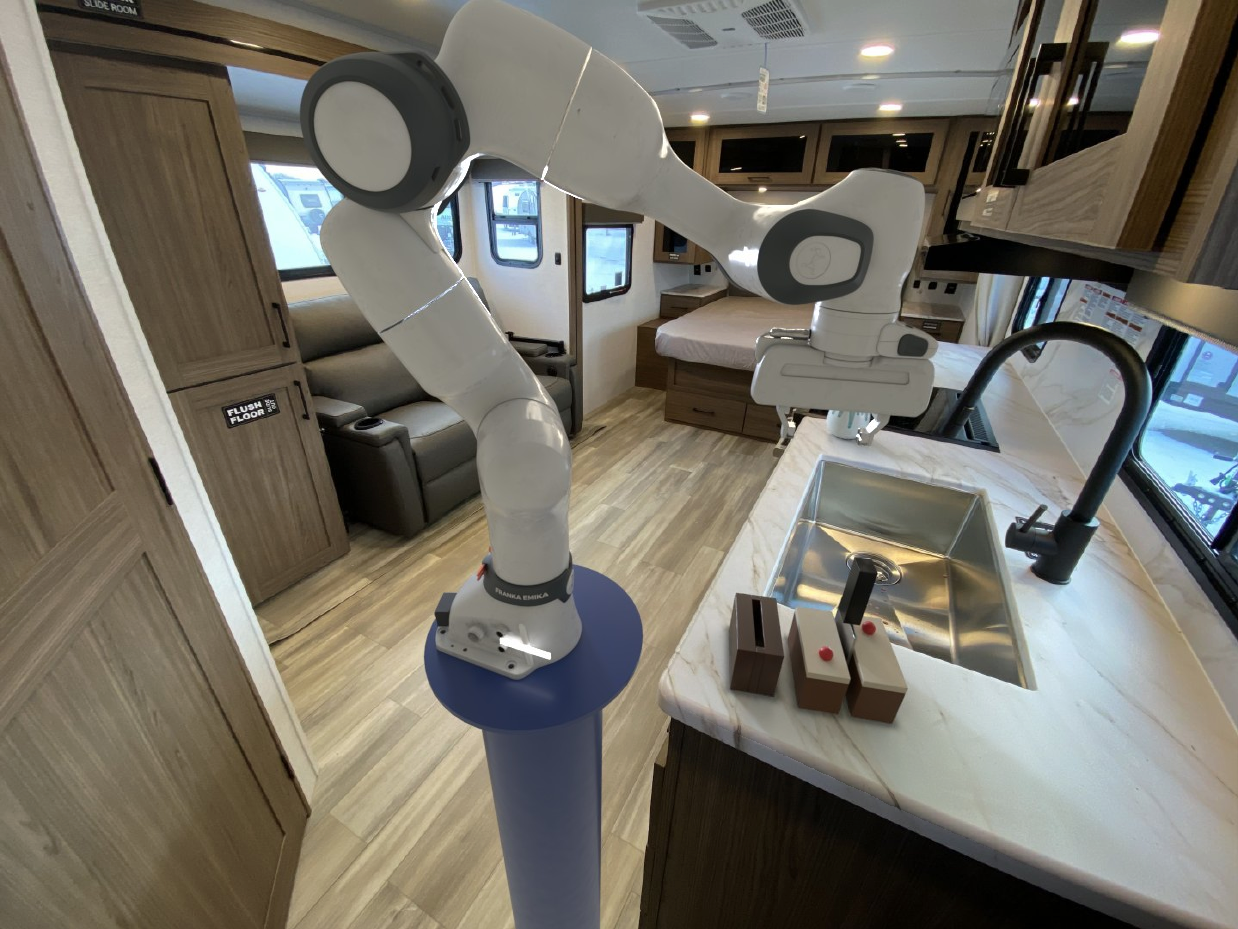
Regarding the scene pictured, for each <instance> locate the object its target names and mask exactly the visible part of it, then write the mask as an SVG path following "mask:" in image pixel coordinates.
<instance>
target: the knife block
mask: <svg viewBox="0 0 1238 929" xmlns="http://www.w3.org/2000/svg"><path fill="white" fill-rule="evenodd" d="M778 608H779V607H778V602H777V597H770V596H765V595H764V596H763V595H755V594H748V593H742V592H735V595H734V598H733V604H732V611H731V617H730V622H729V626H728V658H729V660H728V661H729V662H728V663H729V664H728V665H729V667H728V668H729V669H728V670H729V690H731V691H735V692H736V691H737V692H743V693H748V694H753V695H759V696H766V697H772V698H775V694H776V690H777V686H778V683H779V679H780V675H781V671H782V668H783V663H784V660H785V651H784V644H783V637H782V629H781V623H780V616H779V609H778Z"/></svg>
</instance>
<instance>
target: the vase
mask: <svg viewBox="0 0 1238 929" xmlns="http://www.w3.org/2000/svg"><path fill="white" fill-rule="evenodd" d="M871 415H872V414H871V413H859V412H847V411H835V410H828V412H827V415H826V420H825V423H826V424H825V425H826V427H827V430H828V431H829V433H830V434H831V435H833V436H835V437H837V438H839V439H843V440H844V439H845V440H856V436H857V435H858V429H859V428H866V427H867V426H868V425H869V424H870V423H871Z"/></svg>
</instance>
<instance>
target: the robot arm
mask: <svg viewBox="0 0 1238 929" xmlns="http://www.w3.org/2000/svg"><path fill="white" fill-rule="evenodd" d="M299 122H300V124H299V125H300V129H301V134H302V138H303V142H304V145H305V147H306V149H307V151H308V154H309V156H310V158H311V160H312V162H313V164H314V165H315V166H316V168H317V169H318V171H319V172H320V174H321V175H322V176H323V177H324V179H325V180H326V181H327V182H328V183H329V184H330V185H331V186H332V187H333V188H334V189H335V190H336V191H337V192H338V193H340V194H341V195H342V196H344V198H342V199H341V200H339V201H338V202H337V203H336V204H334V206H333V207H331V209H330V210H329V211H328V212H327V214H326V216H325V217H324V219H323V221H322V223H321V226H320V230H319V244H320V247H321V250H322V252H323V255H324V256H325V258H326V259H327V261H328V263H329V265H330V266H331V269H332V270H333V272H334V274H335V275H336V277H337V278H338V280H339V282H340V283H341V285H342V286H343V288H344V290H345V292H346V293H347V294H348V296H349V297H350V299H351V300H352V301H353V304H354V305H355V306H356V307H357V308H358V310H359V311H360V313H361V314H362V315H363V317H364V318H365V319H366V321H367V322H368V324H370V326H371V328H373V329H374V331H375V332H376V333H377V335H378V336H379V338H381V339H382V341H383V342H384V343H385V344H386V346H387V347H388V348H389V349H390V351H391V352H392V353H393V354H394V355H395V357H396V358H397V359H398V360H399V361H400V362H401V364H402V365H403V366H404V367H405V369H406V370H407V371H408V373H410V375H411V376H412V378H414V380H415V381H416V382H417V383H418V385H420V387H421V388H422V390H423V391H425V392H426V393H427V394H428V395H430V396H432V397H435V398H437V399H439V400H440V401H442V403H444V404H445V405H446V406H448V407H449V408H450V409H451V410H453V412H454V413H456V414H457V415H458V416H460V417H461V419H463V421H464V422H465V423H466V424H467V425H468V426H469V427H470V429H471V431H472V432H473V435H474V437H475V439H476V443H477V444H476V470H477V476H478V481H479V487H480V493H481V494H480V495H481V499H482V504H483V508H484V513H485V518H486V522H487V530H488V538H489V547H488V552H489V553H488V554H486V555H485V556H484V557H483V559H482V561H481V566H480V567H479V569H478V570H477V572H475V573H473V574H472V575H470V577H469V578H468V579H467V580H466V581H465V582H464V583H463V585H462V586H461V587H460V588H459V589H458V591H457V592H449V591H446V592H445V591H443V593H442V595H441V597H440V599H439V601H438V604H437V605H436V607H435V609H434V614H433V615H434V617H435V618H436V622H437V626H438V629H437V632H436V648H437V650H439V651H441V652H444V653H446V654H449V655H451V656H454V657H457V658H459V659H462V660H464V661H467V662H470V663H472V664H475V665H477V666H480V667H483V668H485V669H488V670H491V671H493V672H496V673H498V674H501V675H504V676H506V677H509V678H512V679H515V680H519V679H522V678H524V677H526V676H527V675H529V674H530V673H531V672H533V671H534V670H535V669H537V668H539V667H542V666H545V665H548V664H551V663H554V662H556V661H558V660H560V659H561V658H563V657H564V656H566V655H567V654H568V653H570V652H571V651H572V650H573V648H574V647H575V646H576V644H577V643H578V641H579V639H580V636H581V632H582V623H581V619H580V617H579V615H578V612H577V610H576V607H575V603H574V598H573V593H572V591H573V586H574V569H573V564H574V563H573V555H572V552H571V551H570V531H569V530H570V528H569V525H570V524H569V509H570V502H571V493H572V478H573V451H572V447H571V444H570V442H569V441H570V440H569V438H568V435H567V433H566V429H565V426H564V424H563V420H562V418H561V414H560V412H559V408H558V406H557V404H556V402H555V400H554V399H553V398H552V396H551V395H550V394H549V392H548V391H547V389H546V388H545V387H544V385H543V384H542V382H541V380H540V379H539V378H538V377H537V375H536V374H535V373H534V372H533V370H532V369H531V367H530V366H529V365H528V363H527V362H526V361H525V360H524V359H523V357H522V356H521V355H520V353H519V352H518V351H517V349H515V348H514V346H513V345H512V343H511V342H510V341H509V340H508V338H507V337H506V335H505V334H504V333H503V331H502V330H501V328H500V327H499V325H498V324H497V322H496V320H495V319H494V317H493V316H492V315H491V313H490V312H489V310H488V309H487V307H486V306H485V304H484V303H483V301H482V300H481V298H480V297H479V295H478V293H477V292H476V291H475V289H474V288H473V287H472V285H471V283H470V282H469V281H468V279H467V278H466V276H465V275H464V272H462V270H461V269H460V268H459V266H458V265H457V263H456V262H455V261H454V259H453V258H452V256H451V254H450V253H449V251H448V250H447V248H446V246H445V245H444V243H443V241H442V238H441V236H440V234H439V231H438V228H437V217H438V216H440V215H442V214H443V213H444V211H445V210H446V209H447V207H448V206H449V205H450V203H451V202H452V200H453V199H454V197H455V196H456V195H457V194H458V193H459V191H460V190H461V189H462V188H463V186H464V185H465V184H466V182H467V181H468V179H469V177H470V175H471V173H472V170H473V167H474V165H475V160H476V158H479V157H482V156H491V157H496V158H499V159H501V160H504V161H507V162H509V163H511V164H513V165H515V166H517V167H518V168H521V169H522V170H524V171H525V172H527V173H529V174H531V175H532V176H534V177H536V178H538V179H540V180H541V181H542V180H543V181H544V182H545V183H546V184H548V185H550V186H552V187H553V188H556V189H558V190H559V191H561V192H564V193H566V194H568V195H571V196H573V197H575V198H578V199H580V200H583V201H585V202H588V203H591V204H593V205H596V206H600V207H604V208H606V209H611V210H615V211H620V212H621V211H623V212H628V213H634V214H639V215H640V216H641V215H642V216H644V217H648V218H650V219H652V220H654V221H656V222H657V223H660V224H662V225H663V226H665V227H666V228H668V229H670V230H671V231H673V232H675V233H676V234H678V235H680V236H681V237H683V238H685V239H686V240H688V241H690V242H691V243H693V244H694V245H696V246H698V247H699V248H701V249H702V250H704V251H705V252H706V253H707V254H708V255H709V256H710V258H712V260H713V261H714V263H715V264H716V266H717V268H718V269H719V271H720V272H721V274H722V276H723V277H724V278H725V280H727V281H728V282H729V283H730V284H731V285H732V286H734V287H735V288H737V289H739V290H741V291H745V292H749V293H753V294H755V295H757V296H760V297H762V298H763V299H767V300H769V301H771V302H774V303H777V304H780V305H783V306H799V305H800V306H801V305H807V304H813V303H815V304H814V308H813V312H812V313H813V314H812V318H811V323H810V329H807V328H805V329H804V328H803V329H802V328H787V329H786V328H782V327H773V328H772V327H771V329H770V330H768V331H765V332H763V333H761V334H760V335H759V336H758V338H757V339H756V342H755V347H754V354H753V355H754V360H755V361H756V366H755V369H754V372H753V377H752V380H751V386H750V396H751V398H752V399H753V400H754V402H755V403H756V404H758V405H763V406H764V405H765V406H776V407H775V409H776V412H777V415H778V417H779V420H780V422H781V428H780V438H781V439H790V440H791V439H794V438H795V433H796V428H797V427H796V424H795V422H794V421H789V420H788V418H787V416H786V415H789V414H790V412H791V408H799V409H800V408H801V409H812V410H824V411H829V410H835V411H847V412H859V413H871V414H870V415H871V416H872V417H873V419H872V420H871V421H870V423H869V425H868V426H867V427H866V428H859V429H858V435H857V436H856V438H855V442H856V443H857V445H858V446H867V447H871V446H872V444H873V441H874V437H875V435H877V434H878V433H879V432H880V431H881V430H882V429H883V428H884V427H885V426H886V425H888V424H889V421H890V417H891V416H897V417H906V418H907V417H908V418H917V417H918V416H920V415H922V414H923V413H924V412H925V411H926V410H927V408H928V406H929V403H930V399H931V396H932V392H933V388H934V382H935V375H936V368H935V366H934V363H933V362H932V361H931V360H930V359H932V358H933V357H935V356H936V354H937V352H938V348H939V341H937V340H936V339H935V338H934V337H933V336H932V335H931V334H929V333H927V332H926V331H923V330H921V329H920V328H917V327H915V326H913V325H911V324H909V323H908V322H905V321H900V320H898V318H899V314H900V312H901V305H902V302H901V301H902V299H901V295H902V294H901V293H902V288H903V285H904V282H905V280H906V279H907V277H908V275H909V274H910V272H911V270H912V267H913V264H914V260H915V257H916V255H917V254H916V253H917V249H918V245H919V242H920V238H921V233H922V229H923V223H924V217H925V209H926V190H925V187H924V184H923V183H922V182H921V181H920V180H919V179H918V178H917V177H915V176H913V175H912V174H909V173H906V172H902V171H898V170H894V169H885V168H881V167H863V168H858V169H854V170H852V171H850V172H849V174H848V175H847V176H846V177H845V178H843V179H842V180H840V181H839V182H838V183H836V184H835V185H833V186H831V187H829V188H827V189H826V190H824V191H822V192H820V193H818V194H816V195H813V196H811V197H809V198H806V199H804V200H801V201H798V202H797V203H795V204H788V205H785V204H784V205H783V204H782V205H780V204H779V205H778V204H771V203H763V202H746V201H742V200H739V199H737V198H734V197H733V196H732V195H730V194H729V193H727V192H726V191H724V190H723V189H722V188H720V187H718V185H716V184H714V183H712V182H711V181H710V180H708V179H707V178H705V177H704V176H702V175H701V174H699V173H698V172H696V171H695V170H693V169H692V168H690V167H689V166H688V165H687V164H685V162H683V161H682V160H681V158H679V156H678V155H677V154H676V153H675V150H673V148H672V147H671V144H670V142H669V140H668V137H667V135H666V131H665V128H664V123H663V119H662V116H661V112H660V110H659V107H658V104H657V103H656V101H655V99H654V98H653V97H652V96H651V95H649V93H648V92H647V91H646V90H645V89H644V88H643V87H642V86H641V85H640V84H639V83H638V82H637V81H636V80H635V79H634V78H633V77H632V76H631V75H630V74H629V73H628V72H627V71H625V70H624V69H623V68H622V67H620V66H619V65H618V64H617V63H616V62H614V61H613V60H611V59H610V58H609V57H607V56H606V55H604V54H603V53H601V52H600V51H598V50H597V49H596V48H593V46H591V45H589V44H588V43H586V42H585V41H583V40H581V39H580V38H579V37H577V36H575V35H574V34H573V33H570V32H569V31H566V30H565V29H563V28H562V27H559V26H558V25H556V24H554V23H552V22H550V21H549V20H547V19H544V18H542V17H541V16H538V15H537V14H534V13H532V12H530V11H527V10H526V9H523V8H521V7H518V6H516V5H513V4H510V3H508V2H505V1H502V0H468V1H467V2H466V3H464V4H463V5H462V7H460V9H459V10H457V11H456V13H455V15H454V16H453V17H452V19H451V21H450V22H449V25H448V27H447V29H446V32H445V33H444V37H443V41H442V43H441V46H440V49H439V53H438V54H437V56H436V58H435V59H433V58H431V57H430V56H429V55H428V54H427V53H425V52H423V51H421V50H418V49H417V50H416V49H415V50H414V49H412V50H396V51H395V50H394V51H363V52H362V51H361V52H354V53H349V54H345V55H341V56H339V57H336V58H333V59H331V60H329V61H328V62H326V63H324V64H323V65H321V66H320V67H319V68H318V69H317V70H315V71H314V72H313V74H312V75H311V76H310V77H309V80H308V81H307V83H306V84H305V86H304V89H303V92H302V95H301V98H300V105H299ZM442 633H444V634H442ZM511 667H513V668H512V669H509V668H511Z"/></svg>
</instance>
